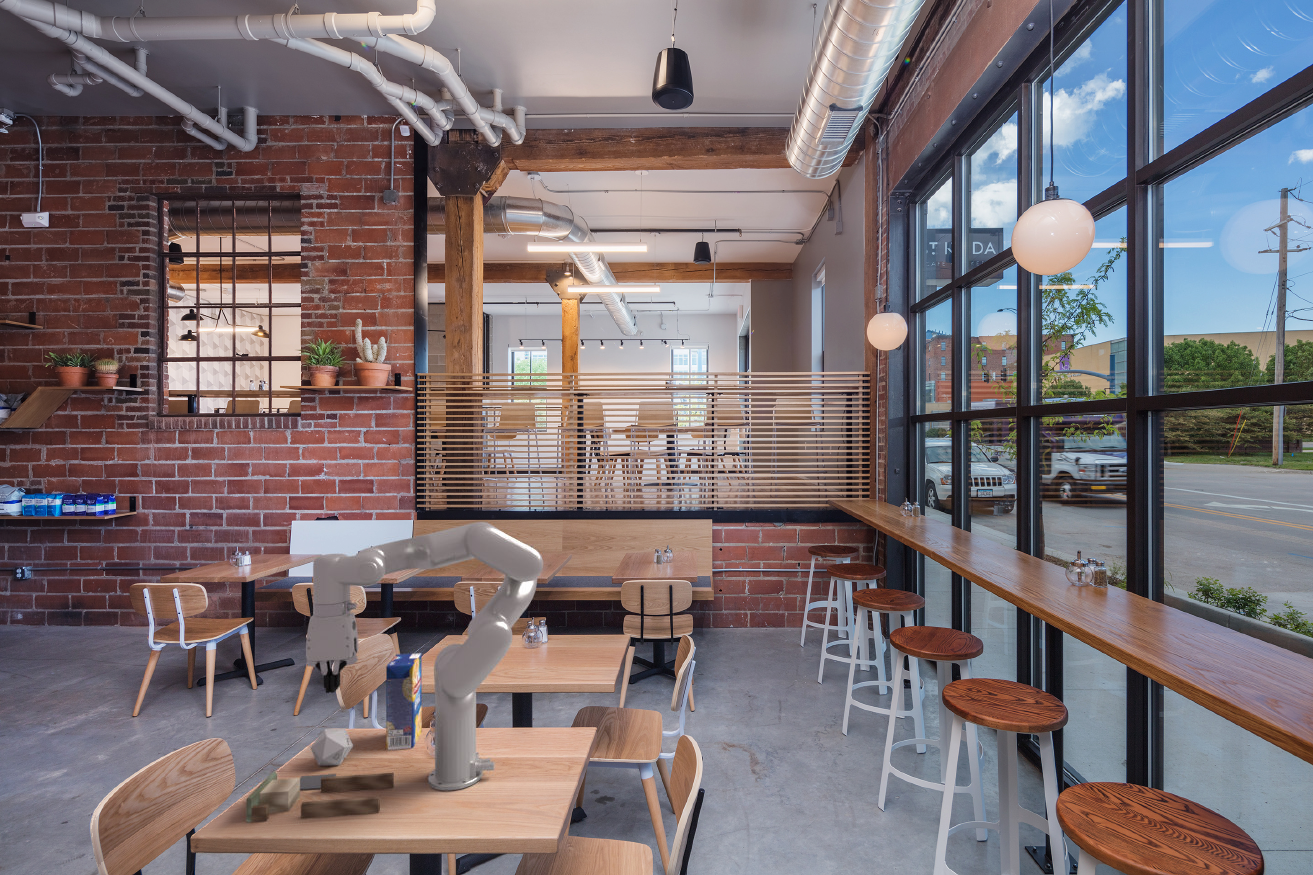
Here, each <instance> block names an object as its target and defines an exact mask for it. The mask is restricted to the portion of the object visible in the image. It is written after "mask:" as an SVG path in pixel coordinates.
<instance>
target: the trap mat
mask: <svg viewBox="0 0 1313 875" xmlns="http://www.w3.org/2000/svg"><path fill="white" fill-rule="evenodd" d="M335 776H337V773H331V774H329V773H328V774H317V775H313V774H312V775H302V776H300V777H299V778H300V791H313V790H321V779H322V777H335Z"/></svg>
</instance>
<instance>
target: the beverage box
mask: <svg viewBox="0 0 1313 875" xmlns="http://www.w3.org/2000/svg"><path fill="white" fill-rule="evenodd" d="M422 656H423V655H422V652H417V653H397V654H395V656H394V657H393V658H392V659H391V660H390V662H389V663H388V664H387V665H386V672H385V673H386V674H385V676H386V677H385V679H386V683H385V684H386V685H385V687H386V692H385V693H386V696H385V697H386V699H385V701H386V703H385V705H386V708H385V711H386V712H385V713H386V715H385V717H386V718H385V719H386V720H385V724H386V725H385V729H386V733H385V738H386V742H385V747H386V748H385V750H386V751H391V750H392V751H393V750H404V749H405V750H406V749H414V747H415V745H416V744H417V741H418V739H419V738H420V735H421V733H422V730H423V729H422V725H423V724H422V722H423V721H422V719H423V718H422V716H423V715H422V714H423V713H422V712H423V711H422V708H423V706H422V701H423V700H422V699H423V698H422V695H423V694H422V680H423V678H422V670H423V669H422V668H423V667H422V666H423V665H422V664H423V663H422V659H423V658H422Z"/></svg>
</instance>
